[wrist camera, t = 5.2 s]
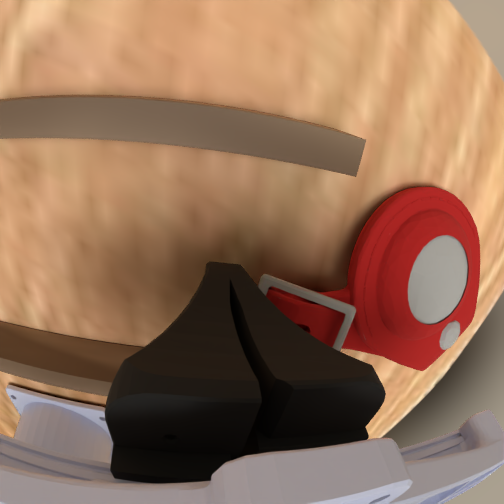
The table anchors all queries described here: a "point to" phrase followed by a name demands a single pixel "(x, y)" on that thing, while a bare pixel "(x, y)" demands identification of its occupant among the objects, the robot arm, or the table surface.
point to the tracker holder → (397, 282)
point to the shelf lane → (160, 132)
